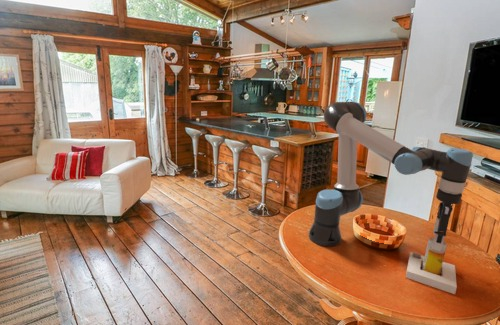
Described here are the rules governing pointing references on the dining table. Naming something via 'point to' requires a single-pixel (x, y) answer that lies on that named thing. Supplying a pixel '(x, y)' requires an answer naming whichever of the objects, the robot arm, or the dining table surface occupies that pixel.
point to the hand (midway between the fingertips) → (436, 241)
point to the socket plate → (441, 282)
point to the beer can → (433, 258)
